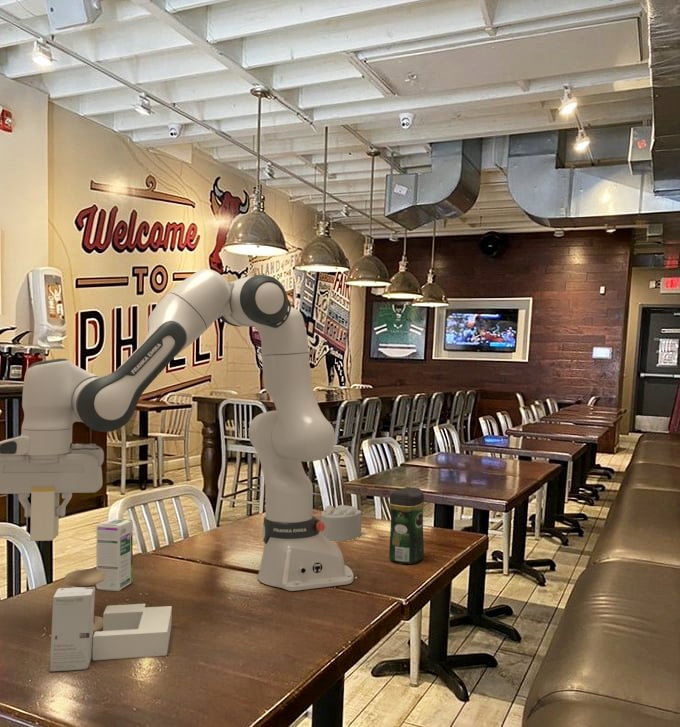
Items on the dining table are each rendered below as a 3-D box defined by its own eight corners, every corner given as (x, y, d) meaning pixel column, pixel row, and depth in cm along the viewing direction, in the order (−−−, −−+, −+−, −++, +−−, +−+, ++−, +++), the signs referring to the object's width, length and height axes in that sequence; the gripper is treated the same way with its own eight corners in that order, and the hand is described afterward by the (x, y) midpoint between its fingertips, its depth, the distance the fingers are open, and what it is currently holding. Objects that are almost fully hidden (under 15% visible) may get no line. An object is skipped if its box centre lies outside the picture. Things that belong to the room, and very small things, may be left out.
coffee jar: (400, 552, 172) (401, 483, 172) (427, 557, 168) (428, 487, 168) (383, 561, 164) (385, 489, 164) (412, 567, 160) (413, 492, 160)
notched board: (172, 623, 123) (172, 602, 123) (166, 655, 109) (167, 631, 109) (106, 626, 120) (106, 605, 120) (92, 660, 107) (93, 636, 107)
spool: (106, 619, 124) (107, 568, 124) (100, 634, 117) (101, 580, 117) (68, 622, 122) (69, 569, 122) (59, 637, 115) (60, 581, 116)
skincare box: (49, 673, 102) (50, 597, 102) (54, 660, 106) (56, 587, 107) (89, 669, 104) (91, 594, 104) (94, 657, 108) (95, 585, 108)
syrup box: (119, 591, 139) (120, 525, 139) (94, 589, 140) (96, 523, 140) (132, 583, 145) (134, 519, 145) (109, 581, 146) (110, 517, 146)
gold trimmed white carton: (58, 534, 124) (59, 483, 124) (53, 540, 120) (54, 487, 120) (36, 535, 123) (37, 483, 123) (29, 541, 119) (31, 487, 119)
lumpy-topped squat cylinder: (365, 535, 190) (366, 506, 190) (341, 544, 179) (341, 513, 179) (337, 529, 196) (337, 501, 196) (311, 538, 185) (312, 508, 185)
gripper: (107, 441, 127) (105, 511, 126) (-5, 441, 123) (-7, 513, 123) (101, 445, 120) (99, 518, 120) (-17, 445, 117) (-19, 521, 117)
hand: (45, 516), depth 121 cm, fingers closed on gold trimmed white carton, 4 cm apart
